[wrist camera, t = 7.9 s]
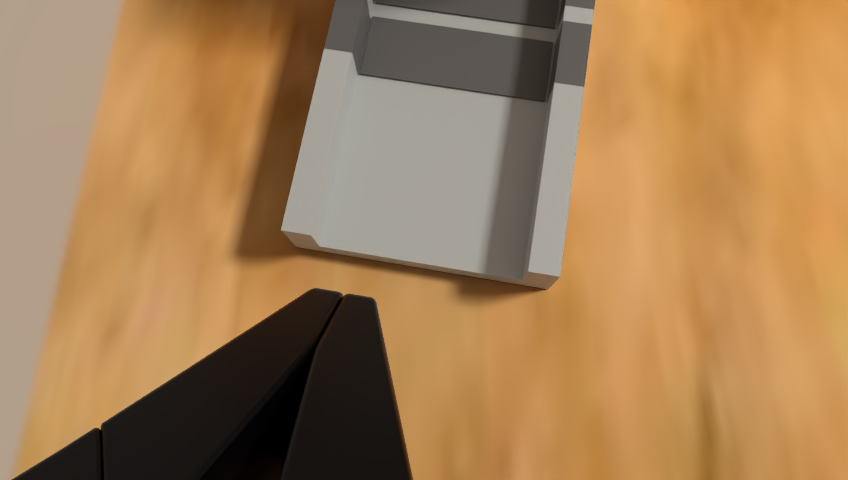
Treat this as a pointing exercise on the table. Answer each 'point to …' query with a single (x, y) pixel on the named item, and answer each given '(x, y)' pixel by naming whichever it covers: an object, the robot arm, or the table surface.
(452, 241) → the channel
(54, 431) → the table surface
